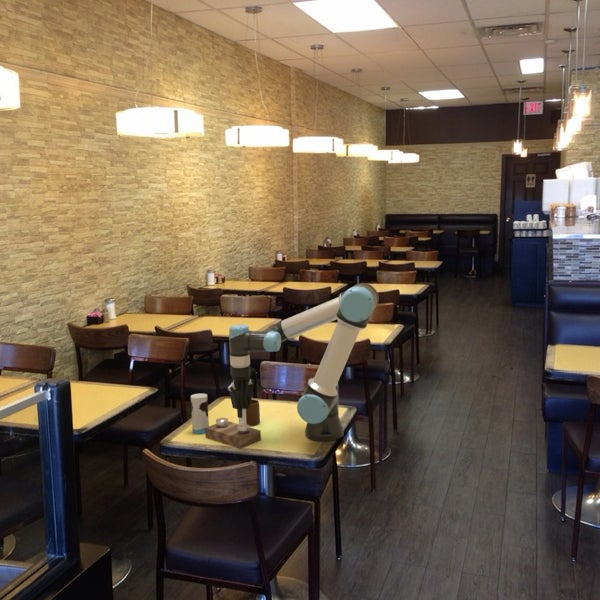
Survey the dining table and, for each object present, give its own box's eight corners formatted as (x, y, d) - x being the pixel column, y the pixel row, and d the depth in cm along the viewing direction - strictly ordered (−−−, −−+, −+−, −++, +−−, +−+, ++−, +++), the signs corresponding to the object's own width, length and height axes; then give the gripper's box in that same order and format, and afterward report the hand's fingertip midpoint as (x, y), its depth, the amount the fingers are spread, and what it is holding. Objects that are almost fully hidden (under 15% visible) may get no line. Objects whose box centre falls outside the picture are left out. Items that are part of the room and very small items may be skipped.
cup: (212, 430, 273) (210, 394, 271) (201, 435, 268) (199, 399, 266) (200, 427, 277) (198, 392, 275) (189, 432, 272) (187, 396, 269)
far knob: (230, 433, 267) (230, 419, 266) (222, 437, 263) (221, 422, 263) (223, 431, 270) (222, 417, 269) (214, 434, 266) (213, 420, 266)
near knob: (252, 439, 259) (251, 425, 258) (243, 443, 256) (242, 428, 255) (243, 437, 262) (243, 422, 261) (235, 440, 259) (234, 425, 258)
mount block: (261, 440, 260) (260, 430, 260) (240, 448, 252) (240, 438, 252) (226, 429, 273) (225, 420, 273) (205, 437, 265) (205, 427, 265)
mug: (246, 430, 272) (245, 408, 270) (231, 427, 276) (230, 405, 274) (263, 422, 281) (262, 400, 280) (249, 419, 286) (248, 398, 284)
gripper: (245, 360, 262) (247, 418, 265) (220, 367, 252) (223, 427, 256) (259, 363, 257) (261, 422, 260) (234, 370, 247) (237, 431, 251)
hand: (242, 424), depth 258 cm, fingers closed
